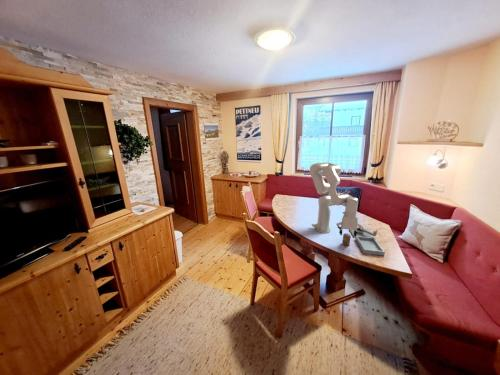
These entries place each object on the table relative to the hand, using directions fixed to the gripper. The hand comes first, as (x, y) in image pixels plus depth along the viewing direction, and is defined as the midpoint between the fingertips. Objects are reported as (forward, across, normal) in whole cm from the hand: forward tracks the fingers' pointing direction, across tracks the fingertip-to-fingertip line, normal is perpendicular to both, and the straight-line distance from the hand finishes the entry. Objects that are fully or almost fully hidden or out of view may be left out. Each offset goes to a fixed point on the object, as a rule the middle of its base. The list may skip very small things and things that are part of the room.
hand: (347, 235), depth 143 cm
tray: (+8, +16, 0) cm, 18 cm away
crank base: (+8, +16, +20) cm, 27 cm away
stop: (+8, 0, 0) cm, 8 cm away
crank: (+5, +19, +16) cm, 26 cm away
